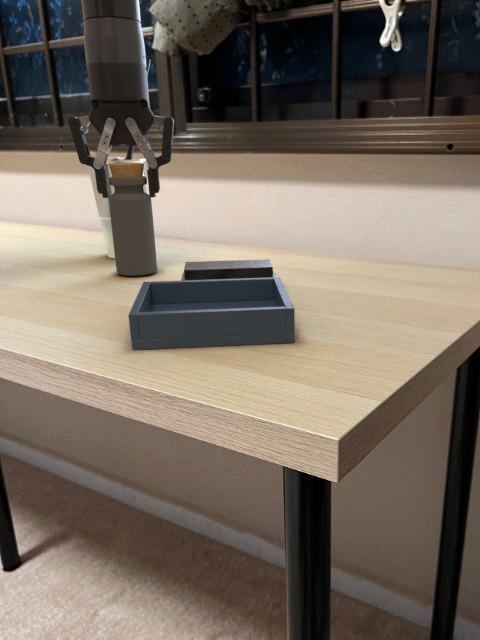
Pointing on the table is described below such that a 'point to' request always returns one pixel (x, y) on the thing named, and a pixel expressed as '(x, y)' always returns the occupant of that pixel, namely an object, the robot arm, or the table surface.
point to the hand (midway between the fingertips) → (129, 196)
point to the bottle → (132, 221)
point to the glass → (104, 202)
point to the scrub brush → (228, 269)
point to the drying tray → (211, 313)
